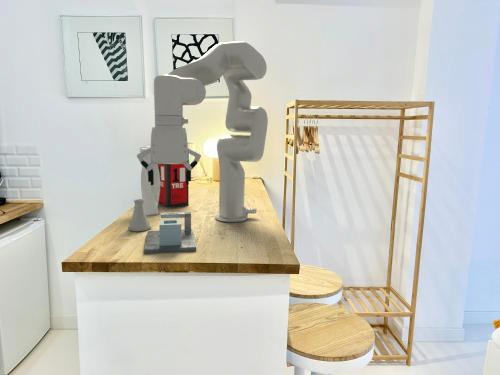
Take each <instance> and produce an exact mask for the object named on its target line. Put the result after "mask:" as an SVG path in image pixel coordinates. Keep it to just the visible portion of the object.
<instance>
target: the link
mask: <svg viewBox="0 0 500 375" xmlns="http://www.w3.org/2000/svg"><path fill="white" fill-rule="evenodd" d="M158 225H159V226H158V227H159V229H158V231H159V232H160V246H168V245H182V239H181V230H182V219H181V218H165V219H159V224H158Z"/></svg>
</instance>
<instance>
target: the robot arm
mask: <svg viewBox="0 0 500 375" xmlns="http://www.w3.org/2000/svg"><path fill="white" fill-rule="evenodd" d="M267 69H268V68H267V62H266V59H265V58H264V56H263V55H262V54H261V53H260V52H259V51H258V50H257V49H256V48H255V47H254V46H252V45H251V44H250V43H248V42H246V41H241V40H240V41H228V42H220V43H218V44H217V43H216V44H215V45H214V46H212V48H210V49H209V50H208V51H207V52H206V53H205V54H203V55H202V56H201V57H200V58H198V59H196V60H193V61H190V62H189V63H187V64H184V65H182V66H179V67H177V68H176V69H174V70H172V71H170V72H169V73H168V74H159V75H156V76H155V77H154V79H153V97H154V98H153V100H154V102H153V104H154V105H153V106H154V126H153V127H152V128H151V133H150V144H151V146H150V147H151V148H149V149H147V150H145V151H143V152H141V153H140V152H139V153H137V154H136V158H137V159H138V161H139V163H140V164H141V166H142V165H143V166H144V167H145V168H146V169H147V170H148V182H151V185H154V170H153V167H154V166H155V164H184V165H185V167H186V184H187V185H188V186H189V185H190V182H192V170H193V169H194V168H195V167H196V166H197V164H198V163H199V161H200V159H201V157H202V155H201V154H200V153H199V152H197V151H194V150H193V149H190V148H189V146H188V143H189V142H188V137H187V136H188V135H187V129H186V128H185V127H184V125H185V124H186V125H187V124H189V119H188V118H185V117H184V116H183V115H184V108H183V107H184V106H197V105H200V104H201V103H202V102H203V101H204V100H205V98H206V95H207V90H206V86H210V85H212V84H215V83H216V82H218V81H219V80H220V78H221V77H223V79H224V81H225V84H226V86H227V90H228V103H227V109H226V115H225V127H226V129H227V130H228V131H230V132H232V133H247V134H248V133H250V135H247V134H243V135H242V134H225V135H223V136H220V138H219V139H218V141H217V142H216V143H217V144H216V150H217V151H216V152H217V156H218V157H217V158H218V163H219V164H218V165H219V166H218V167H219V177H218V178H219V184H218V185H219V188H218V189H219V190H218V191H219V192H218V194H219V196H218V197H219V198H218V199H219V200H218V212H217V213H216V214H215V215H214V219H215V220H217V221H220V222H223V223H224V222H225V223H238V222H239V223H240V222H244V221H247V220H248V218H249V214H257V208H253V207H246V206H245V191H246V190H245V184H246V177H245V176H246V173H245V170H244V167H243V165H242V164H241V162H244V163H245V162H246V163H256V162H260V161H261V160H262V158H263V156H264V151H265V145H266V139H267V132H268V125H269V124H268V123H269V122H268V121H269V118H268V113H267V111H266V109H264V107H260V106H253V105H252V93H251V90H250V88H249V87H248V86H247V84H246V83H245V82H244V81H257V80H262V79H264V77H265V75H266V73H267ZM251 105H252V106H251ZM149 153H150V156H151V161H152V162H151V163H150V164H148V163H147V162H146V161H145V160H144V158H143V157H144V156H146V155H147V154H149ZM189 154H190V155H191V156H193V157H194V159H193V161H192V162H191V163H189ZM187 161H188V162H187Z"/></svg>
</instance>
